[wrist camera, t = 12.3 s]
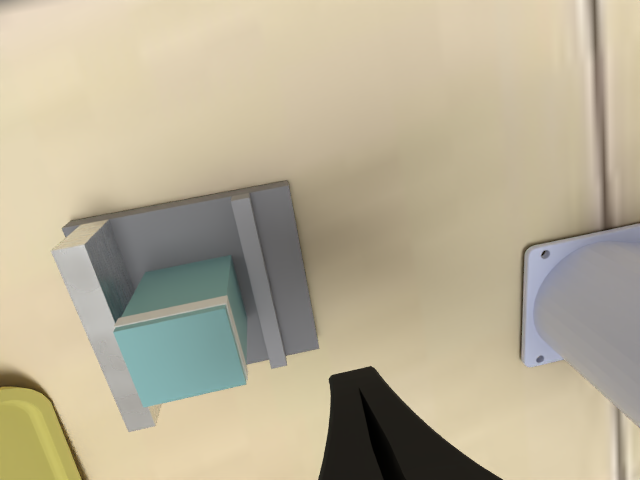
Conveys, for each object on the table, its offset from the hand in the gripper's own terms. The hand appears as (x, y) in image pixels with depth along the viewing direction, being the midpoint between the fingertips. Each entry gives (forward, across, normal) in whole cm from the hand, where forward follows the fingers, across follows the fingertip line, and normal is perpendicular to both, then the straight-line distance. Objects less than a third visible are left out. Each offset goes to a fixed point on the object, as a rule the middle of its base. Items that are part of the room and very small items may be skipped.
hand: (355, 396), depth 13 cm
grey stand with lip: (+10, +6, 0) cm, 11 cm away
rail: (+10, +9, 0) cm, 13 cm away
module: (+9, +6, 0) cm, 11 cm away
